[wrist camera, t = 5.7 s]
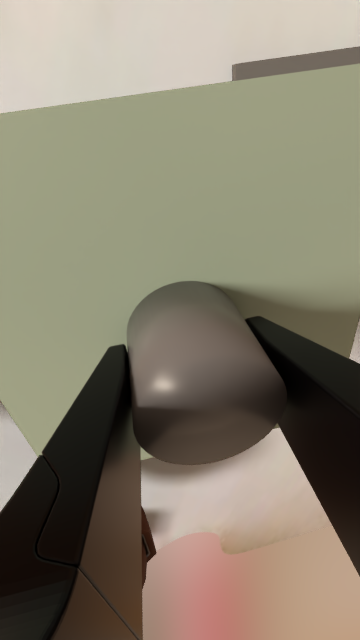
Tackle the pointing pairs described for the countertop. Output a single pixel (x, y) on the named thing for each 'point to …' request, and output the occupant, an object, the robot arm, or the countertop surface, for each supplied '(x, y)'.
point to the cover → (178, 252)
